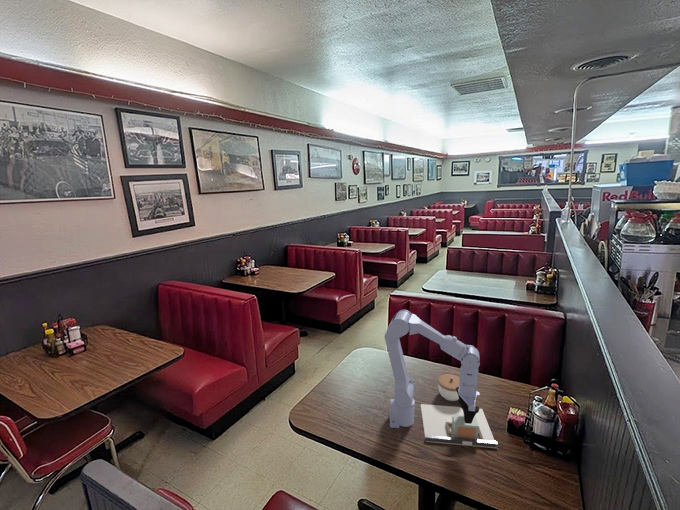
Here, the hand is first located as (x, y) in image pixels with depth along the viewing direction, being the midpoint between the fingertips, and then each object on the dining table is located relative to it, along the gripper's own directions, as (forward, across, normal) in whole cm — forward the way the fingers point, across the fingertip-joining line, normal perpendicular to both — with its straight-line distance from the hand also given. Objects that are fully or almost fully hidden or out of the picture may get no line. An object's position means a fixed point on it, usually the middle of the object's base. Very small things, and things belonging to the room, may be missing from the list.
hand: (465, 415), depth 118 cm
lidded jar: (+9, +22, +1) cm, 24 cm away
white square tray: (+9, +5, +2) cm, 10 cm away
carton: (+8, 0, 0) cm, 8 cm away
